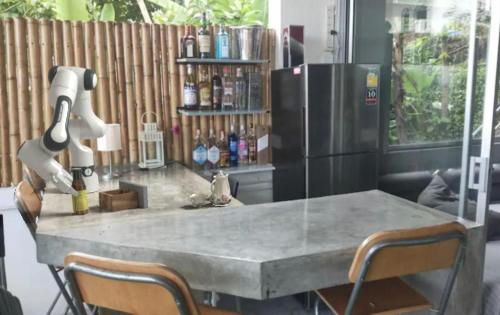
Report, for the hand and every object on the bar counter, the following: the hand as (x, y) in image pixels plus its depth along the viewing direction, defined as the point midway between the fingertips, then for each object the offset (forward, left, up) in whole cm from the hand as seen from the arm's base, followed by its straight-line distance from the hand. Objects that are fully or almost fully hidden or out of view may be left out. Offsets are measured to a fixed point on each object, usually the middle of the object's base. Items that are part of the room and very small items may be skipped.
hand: (78, 192), depth 186 cm
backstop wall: (+2, +25, -9) cm, 27 cm away
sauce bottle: (0, 0, -9) cm, 9 cm away
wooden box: (+2, +17, -9) cm, 20 cm away
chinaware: (+30, +52, -10) cm, 61 cm away
